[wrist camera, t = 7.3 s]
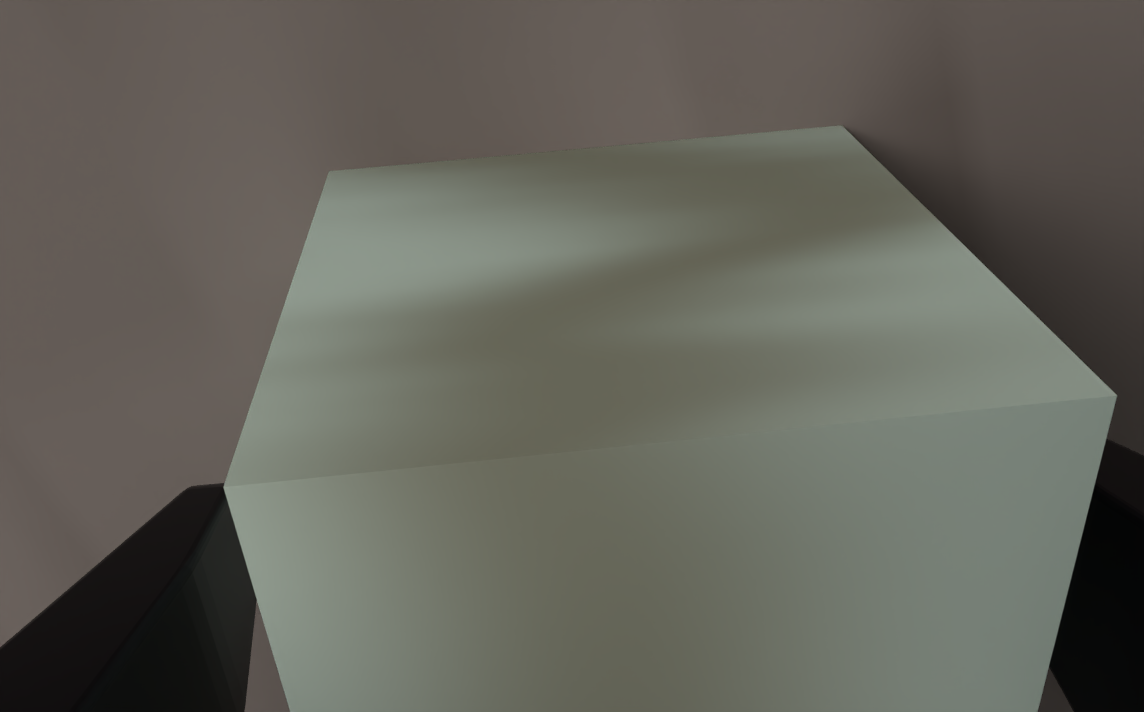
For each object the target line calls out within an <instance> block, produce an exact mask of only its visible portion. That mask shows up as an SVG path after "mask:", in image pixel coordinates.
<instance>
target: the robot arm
mask: <svg viewBox="0 0 1144 712" xmlns="http://www.w3.org/2000/svg"><path fill="white" fill-rule="evenodd" d="M224 484H225V483H219V484H208V485H197V486H191V487H189V488H187V489H186V490H184V491H183V492H182V493H180V494H179V495H178V496H177V497H176V498H175V499H173V500H172V501H171V502H170V503H169V504H167V505H166V506H165V507H164V508H163V509H162V510H160V511H159V512H158V513H157V514H156V515H155V516H153V517H152V518H151V519H150V520H149V521H148V522H146V523H145V524H144V525H143V526H142V527H141V528H139V529H138V530H137V531H136V532H135V533H134V534H132V535H131V536H130V537H129V538H128V539H127V540H125V541H124V542H123V543H122V544H121V545H120V546H118V547H117V548H116V549H115V550H114V551H112V552H111V553H110V554H109V555H108V556H107V557H105V558H104V559H103V560H102V561H101V562H100V563H98V564H97V565H96V566H95V567H94V568H93V569H91V570H90V571H89V572H88V573H87V574H86V575H84V576H83V577H82V578H81V579H80V580H79V581H77V582H76V583H75V584H74V585H73V586H72V587H70V588H69V589H68V590H67V591H66V592H64V593H63V594H62V595H61V596H60V597H59V598H57V599H56V600H55V601H54V602H53V603H52V604H50V605H49V606H48V607H47V608H46V609H45V610H43V611H42V612H41V613H40V614H39V615H38V616H36V617H35V618H34V619H33V620H32V621H31V622H29V623H28V624H27V625H26V626H25V627H24V628H22V629H21V630H20V631H19V632H18V633H16V634H15V635H14V636H13V637H12V638H11V639H9V640H8V641H7V642H6V643H5V644H4V645H2V646H1V647H0V712H244V711H245V703H246V693H247V684H248V675H249V665H250V656H251V647H252V637H253V628H254V619H255V609H256V600H257V598H256V595H255V592H254V588H253V585H252V582H251V578H250V575H249V572H248V568H247V565H246V561H245V558H244V555H243V551H242V548H241V545H240V541H239V538H238V535H237V531H236V528H235V524H234V521H233V518H232V514H231V511H230V508H229V504H228V501H227V498H226V494H225V491H224V488H223V487H224ZM1049 667H1050V669H1051V671H1052V673H1053V675H1054V676H1055V678H1056V680H1057V682H1058V684H1059V686H1060V687H1061V689H1062V691H1063V693H1064V695H1065V696H1066V698H1067V700H1068V702H1069V704H1070V706H1071V707H1072V709H1073V711H1074V712H1144V456H1143V455H1141V454H1139V453H1137V452H1134V451H1132V450H1130V449H1128V448H1126V447H1123V446H1121V445H1119V444H1117V443H1115V442H1113V441H1110V440H1108V439H1106V442H1105V446H1104V450H1103V454H1102V458H1101V462H1100V466H1099V470H1098V474H1097V478H1096V482H1095V485H1094V489H1093V493H1092V497H1091V501H1090V505H1089V509H1088V513H1087V517H1086V521H1085V525H1084V529H1083V533H1082V537H1081V541H1080V545H1079V549H1078V553H1077V557H1076V561H1075V565H1074V569H1073V573H1072V577H1071V581H1070V585H1069V589H1068V593H1067V597H1066V601H1065V605H1064V609H1063V612H1062V616H1061V620H1060V624H1059V628H1058V632H1057V636H1056V640H1055V644H1054V648H1053V652H1052V656H1051V660H1050V664H1049Z"/></svg>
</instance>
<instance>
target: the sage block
mask: <svg viewBox="0 0 1144 712" xmlns="http://www.w3.org/2000/svg"><path fill="white" fill-rule="evenodd" d="M1116 398H1117V395H1116V394H1115V393H1114V392H1113V391H1112V390H1111V389H1110V388H1109V387H1108V386H1107V385H1106V384H1105V383H1104V382H1103V381H1102V380H1101V379H1100V378H1099V377H1098V376H1097V375H1096V374H1095V373H1094V372H1093V371H1092V370H1091V369H1090V368H1089V367H1088V366H1087V365H1086V364H1085V363H1084V362H1082V361H1081V360H1080V359H1079V358H1078V357H1077V356H1076V355H1075V354H1074V353H1073V352H1072V351H1071V350H1070V349H1069V348H1068V347H1067V346H1066V345H1065V344H1064V343H1063V342H1062V341H1061V340H1060V339H1059V338H1058V337H1057V336H1056V335H1055V334H1054V333H1053V332H1052V331H1051V330H1050V329H1049V328H1048V327H1047V326H1046V325H1045V324H1044V323H1043V322H1042V321H1041V320H1040V319H1039V318H1038V317H1037V316H1036V315H1035V314H1034V313H1033V312H1032V311H1030V310H1029V309H1028V308H1027V307H1026V306H1025V305H1024V304H1023V303H1022V302H1021V301H1020V300H1019V299H1018V298H1017V297H1016V296H1015V295H1014V294H1013V293H1012V292H1011V291H1010V290H1009V289H1008V288H1007V287H1006V286H1005V285H1004V284H1003V283H1002V282H1001V281H1000V280H999V279H998V278H997V277H996V276H995V275H994V274H993V273H992V272H991V271H990V270H989V269H988V268H987V267H986V266H985V265H984V264H983V263H982V262H981V261H980V260H979V259H977V258H976V257H975V256H974V255H973V254H972V253H971V252H970V251H969V250H968V249H967V248H966V247H965V246H964V245H963V244H962V243H961V242H960V241H959V240H958V239H957V238H956V237H955V236H954V235H953V234H952V233H951V232H950V231H949V230H948V229H947V228H946V227H945V226H944V225H943V224H942V223H941V222H940V221H939V220H938V219H937V218H936V217H935V216H934V215H933V214H932V213H931V212H930V211H929V210H928V209H927V208H926V207H924V206H923V205H922V204H921V203H920V202H919V201H918V200H917V199H916V198H915V197H914V196H913V195H912V194H911V193H910V192H909V191H908V190H907V189H906V188H905V187H904V186H903V185H902V184H901V183H900V182H899V181H898V180H897V179H896V178H895V177H894V176H893V175H892V174H891V173H890V172H889V171H888V170H887V169H886V168H885V167H884V166H883V165H882V164H881V163H880V162H879V161H878V160H877V159H876V158H875V157H874V156H872V155H871V154H870V153H869V152H868V151H867V150H866V149H865V148H864V147H863V146H862V145H861V144H860V143H859V142H858V141H857V140H856V139H855V138H854V137H853V136H852V135H851V134H850V133H849V132H848V131H847V130H846V129H845V128H844V127H843V126H842V125H841V126H830V127H819V128H808V129H797V130H785V131H774V132H763V133H752V134H741V135H730V136H718V137H707V138H696V139H685V140H674V141H663V142H651V143H640V144H629V145H618V146H607V147H596V148H584V149H573V150H562V151H551V152H540V153H528V154H517V155H506V156H495V157H484V158H473V159H461V160H450V161H439V162H428V163H417V164H406V165H394V166H383V167H372V168H361V169H350V170H339V171H329V173H328V176H327V179H326V182H325V185H324V188H323V191H322V194H321V197H320V200H319V203H318V206H317V209H316V212H315V215H314V218H313V221H312V224H311V227H310V230H309V233H308V236H307V239H306V242H305V245H304V248H303V251H302V254H301V257H300V260H299V263H298V266H297V269H296V272H295V275H294V278H293V281H292V284H291V287H290V290H289V293H288V296H287V299H286V302H285V305H284V308H283V311H282V314H281V317H280V320H279V323H278V326H277V329H276V331H275V334H274V337H273V340H272V343H271V346H270V349H269V352H268V355H267V358H266V361H265V364H264V367H263V370H262V373H261V376H260V379H259V382H258V385H257V388H256V391H255V394H254V397H253V400H252V403H251V406H250V409H249V412H248V415H247V418H246V421H245V424H244V427H243V430H242V433H241V436H240V439H239V442H238V445H237V448H236V451H235V454H234V457H233V460H232V463H231V466H230V469H229V472H228V475H227V478H226V481H225V484H224V487H223V488H224V491H225V494H226V498H227V501H228V504H229V508H230V511H231V514H232V518H233V521H234V524H235V528H236V531H237V535H238V538H239V541H240V545H241V548H242V551H243V555H244V558H245V561H246V565H247V568H248V572H249V575H250V578H251V582H252V585H253V588H254V592H255V595H256V598H257V602H258V605H259V609H260V612H261V615H262V619H263V622H264V625H265V629H266V632H267V635H268V639H269V642H270V645H271V649H272V652H273V656H274V659H275V662H276V666H277V669H278V672H279V676H280V679H281V682H282V686H283V689H284V693H285V696H286V699H287V703H288V706H289V709H290V712H1038V708H1039V704H1040V700H1041V696H1042V692H1043V688H1044V684H1045V680H1046V676H1047V672H1048V668H1049V664H1050V660H1051V656H1052V652H1053V648H1054V644H1055V640H1056V636H1057V632H1058V628H1059V624H1060V620H1061V616H1062V612H1063V609H1064V605H1065V601H1066V597H1067V593H1068V589H1069V585H1070V581H1071V577H1072V573H1073V569H1074V565H1075V561H1076V557H1077V553H1078V549H1079V545H1080V541H1081V537H1082V533H1083V529H1084V525H1085V521H1086V517H1087V513H1088V509H1089V505H1090V501H1091V497H1092V493H1093V489H1094V485H1095V482H1096V478H1097V474H1098V470H1099V466H1100V462H1101V458H1102V454H1103V450H1104V446H1105V442H1106V438H1107V434H1108V430H1109V426H1110V422H1111V418H1112V414H1113V410H1114V406H1115V402H1116Z"/></svg>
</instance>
